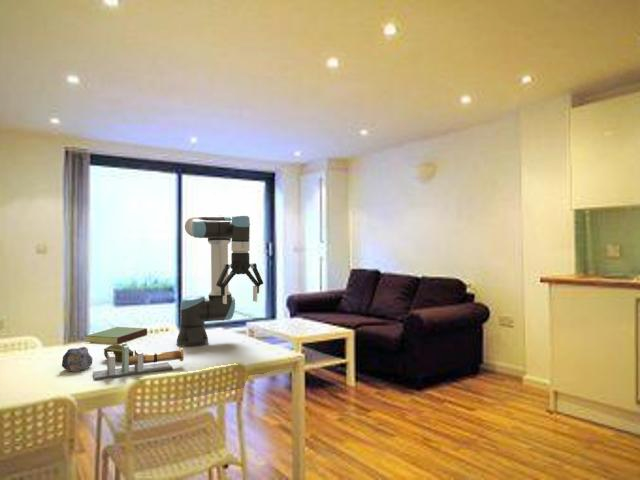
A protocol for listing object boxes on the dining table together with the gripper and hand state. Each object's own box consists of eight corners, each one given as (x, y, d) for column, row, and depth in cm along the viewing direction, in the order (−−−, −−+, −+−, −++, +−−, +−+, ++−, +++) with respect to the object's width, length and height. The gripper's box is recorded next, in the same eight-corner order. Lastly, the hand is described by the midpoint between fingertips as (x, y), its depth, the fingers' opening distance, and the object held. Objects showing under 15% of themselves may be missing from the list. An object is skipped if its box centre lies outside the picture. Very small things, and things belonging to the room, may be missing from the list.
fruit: (104, 365, 189) (104, 349, 189) (103, 358, 200) (103, 343, 200) (134, 362, 194) (134, 346, 194) (131, 355, 205) (131, 341, 205)
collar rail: (92, 374, 176) (93, 345, 177) (167, 364, 190) (167, 338, 190) (94, 380, 169) (94, 350, 169) (172, 370, 183) (172, 342, 183)
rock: (67, 359, 189) (76, 339, 187) (90, 370, 189) (99, 351, 187) (51, 371, 178) (61, 351, 176) (76, 383, 179) (86, 363, 177)
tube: (127, 366, 181) (127, 352, 181) (180, 359, 191) (180, 347, 191) (128, 369, 176) (128, 355, 176) (183, 362, 187) (183, 349, 187)
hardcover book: (118, 345, 228) (118, 337, 228) (85, 343, 232) (85, 335, 232) (147, 334, 252) (147, 328, 252) (118, 333, 256) (118, 326, 256)
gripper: (214, 252, 184) (214, 305, 184) (271, 252, 197) (270, 301, 197) (208, 252, 190) (208, 303, 190) (263, 251, 203) (263, 299, 203)
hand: (240, 302), depth 193 cm, fingers open, 13 cm apart
